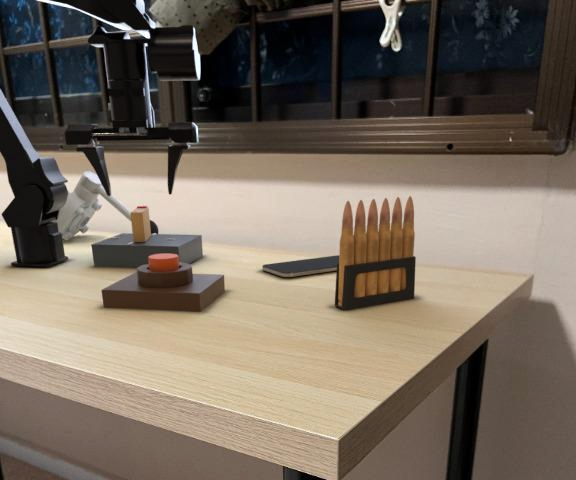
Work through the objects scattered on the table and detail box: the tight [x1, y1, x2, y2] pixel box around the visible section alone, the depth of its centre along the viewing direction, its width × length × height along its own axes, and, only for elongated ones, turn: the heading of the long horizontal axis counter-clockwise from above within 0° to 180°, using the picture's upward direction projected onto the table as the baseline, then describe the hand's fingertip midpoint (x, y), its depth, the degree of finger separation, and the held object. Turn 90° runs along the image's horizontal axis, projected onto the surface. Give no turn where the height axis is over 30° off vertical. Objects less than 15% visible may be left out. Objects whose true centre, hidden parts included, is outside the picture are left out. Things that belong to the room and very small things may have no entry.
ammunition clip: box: [334, 195, 417, 311], centre depth 71 cm, size 11×2×12 cm, turn 120°
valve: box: [51, 170, 159, 242], centre depth 117 cm, size 10×20×15 cm
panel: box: [91, 232, 204, 269], centre depth 97 cm, size 14×11×4 cm
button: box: [148, 253, 179, 271], centre depth 74 cm, size 4×4×2 cm
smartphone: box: [261, 254, 339, 278], centre depth 91 cm, size 7×1×15 cm
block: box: [130, 205, 151, 242], centre depth 96 cm, size 6×2×5 cm, turn 4°
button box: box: [101, 262, 226, 313], centre depth 75 cm, size 12×10×4 cm
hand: (140, 195), depth 93 cm, fingers open, 9 cm apart
